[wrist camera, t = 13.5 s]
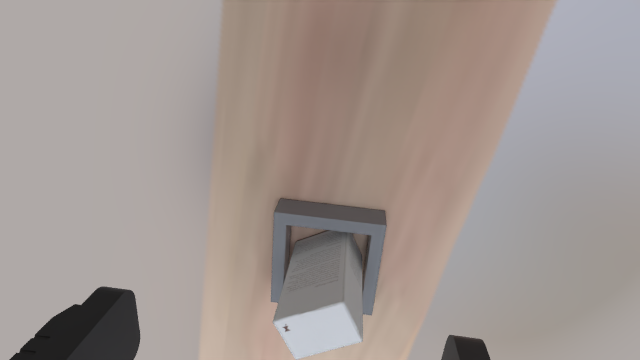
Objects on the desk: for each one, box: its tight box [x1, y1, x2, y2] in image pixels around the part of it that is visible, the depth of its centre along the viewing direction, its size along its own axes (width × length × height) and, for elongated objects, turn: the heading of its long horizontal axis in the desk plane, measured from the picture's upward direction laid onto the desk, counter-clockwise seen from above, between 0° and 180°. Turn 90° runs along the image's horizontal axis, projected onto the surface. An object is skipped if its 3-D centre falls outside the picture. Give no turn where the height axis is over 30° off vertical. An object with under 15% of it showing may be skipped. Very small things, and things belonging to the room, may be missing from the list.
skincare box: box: [273, 230, 363, 359], centre depth 36 cm, size 6×4×12 cm
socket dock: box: [271, 199, 386, 315], centre depth 40 cm, size 10×10×3 cm
